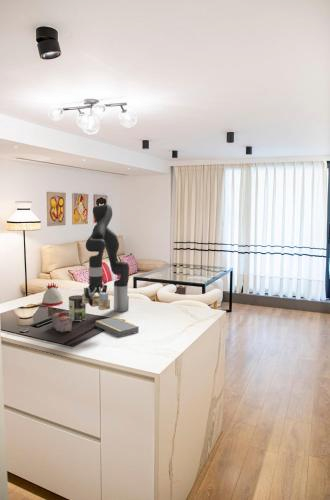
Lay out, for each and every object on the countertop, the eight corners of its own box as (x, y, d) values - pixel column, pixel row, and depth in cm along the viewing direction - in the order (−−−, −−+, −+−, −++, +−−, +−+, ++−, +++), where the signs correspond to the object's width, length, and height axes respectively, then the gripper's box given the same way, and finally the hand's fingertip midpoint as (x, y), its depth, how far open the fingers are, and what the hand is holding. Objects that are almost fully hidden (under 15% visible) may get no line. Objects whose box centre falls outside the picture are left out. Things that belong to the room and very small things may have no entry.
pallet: (90, 301, 215) (90, 292, 215) (110, 308, 201) (110, 299, 200) (82, 302, 212) (82, 294, 211) (101, 310, 197) (101, 301, 197)
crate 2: (104, 298, 202) (104, 292, 202) (108, 299, 200) (108, 293, 199) (99, 299, 200) (99, 293, 200) (102, 300, 197) (102, 294, 197)
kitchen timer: (41, 301, 267) (41, 281, 266) (60, 300, 273) (60, 280, 272) (43, 306, 255) (43, 285, 253) (64, 304, 261) (63, 284, 259)
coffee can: (88, 317, 231) (88, 295, 230) (81, 322, 221) (81, 299, 220) (73, 316, 233) (73, 294, 232) (65, 321, 223) (65, 298, 222)
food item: (74, 331, 205) (74, 314, 204) (61, 334, 200) (61, 316, 199) (62, 325, 215) (62, 309, 214) (49, 328, 210) (49, 311, 208)
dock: (113, 321, 224) (113, 316, 224) (138, 331, 207) (138, 326, 207) (95, 325, 215) (95, 320, 215) (119, 336, 198) (119, 331, 198)
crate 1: (89, 293, 214) (89, 287, 214) (92, 294, 211) (92, 288, 211) (83, 294, 212) (83, 288, 211) (87, 295, 209) (87, 289, 209)
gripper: (102, 272, 212) (102, 301, 214) (80, 275, 202) (80, 305, 204) (110, 274, 206) (110, 303, 208) (87, 277, 197) (88, 308, 199)
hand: (95, 304), depth 206 cm, fingers closed on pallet, 5 cm apart
